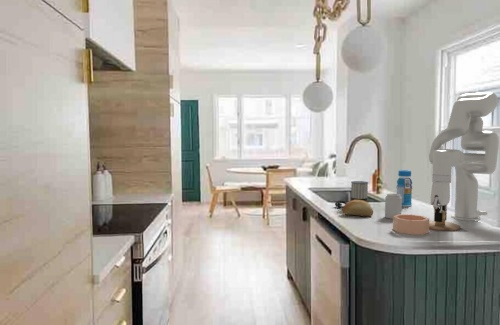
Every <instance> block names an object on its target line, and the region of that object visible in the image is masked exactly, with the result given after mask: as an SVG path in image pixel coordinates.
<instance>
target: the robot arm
mask: <svg viewBox="0 0 500 325" xmlns="http://www.w3.org/2000/svg"><path fill="white" fill-rule="evenodd" d="M498 103H499V100H498V96H497V94H496V93H494V92H492V91H491V92H475V93H474V92H473V93H464V94H460V95H459V96H458V97H457V99H456V101H455V102H454V103H453V106H452V109H451V113H450V117H449V119H448V122H447V126H446V128H444V130H442V131H441V132H440V133H439V134H437V136H435V138H434V139H433V141H432V143H431V146H430V149H429V153H428V161H429V163H430V164H431V165H432V170H431V171H432V172H431V173H432V174H431V175H432V176H431V177H432V178H431V182H432V184H431V192H430V201H429V202H430V205H432V207H433V210H434V211H433V212H434V213H433V214H434V216H433V217H434V218H433V221H436V222H442V210H444V211H446V216H445V222H447V214H448V213H447V211H448V205H449V203H450V200H451V184H452V170H453V167H454V169H455V171H454V172H455V194H454V196H455V197H454V198H455V200H454V213H452V214H451V215H450V217H451V218H452V219H455V220H459V221H460V220H462V221H475V222H478V221H481V216H488V212H487V211H484V210H483V211H482V210H479V209H478V201H479V200H478V199H479V197H478V194H479V193H478V192H479V181H478V180H477V178H476V176H475V174H476V175H491V174H494V172H495V171H496V169H497V168H496V167H497V161H498V156H499V148H500V147H499V146H500V145H499V144H500V141H499V136H498V133H497V132H495V131H492V130H483V127H484V120H483V117H487V116H489V114H491V113H492V112H493V111H494V110H496V108H497V106H498ZM458 138H460V139H461V140H460V147H461V148H462V150H464V151H469V152H463V151H462V150H460V149H453V148H452V149H451V148H443V146H444V145H445V144H447V143H448V142H451V141H453V140H454V139H458ZM470 151H471V152H470ZM474 152H475V153H474ZM476 152H484V153H476Z"/></svg>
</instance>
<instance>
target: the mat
mask: <svg viewBox="0 0 500 325" xmlns="http://www.w3.org/2000/svg"><path fill="white" fill-rule="evenodd" d="M431 232H432V233H433V232H446V233H447V232H451V233H452V232H454V233H455V232H463V233H465V232H468V233H469V231H468V230H466V229H465V228H463V227H461V229H460V230H457V231H438V230H431V229H429V233H431Z"/></svg>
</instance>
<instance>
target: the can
mask: <svg viewBox="0 0 500 325" xmlns="http://www.w3.org/2000/svg"><path fill="white" fill-rule="evenodd" d="M402 207H403V206H402V197H401V196H400V194H397V193H394V192H393V193H391V192H390V193H386V196H385V201H384V217H385V218H386V219H390V220H393V216H395V215H399V214H402V209H403V208H402Z"/></svg>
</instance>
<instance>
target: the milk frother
mask: <svg viewBox="0 0 500 325" xmlns="http://www.w3.org/2000/svg"><path fill="white" fill-rule="evenodd" d="M350 185H351V191H350V192H351V193H350V194H351V196H350V201H351V200H364V201H366V202H368V191H369V190H368V189H369V181H364V180H354V181H351V183H350ZM346 203H348V201H344V200H340V199H339V200H337V201H335V203H334V206H335V207H337V208H338V209H339V208H340V209H343V207H344V206H345V204H346Z"/></svg>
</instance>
